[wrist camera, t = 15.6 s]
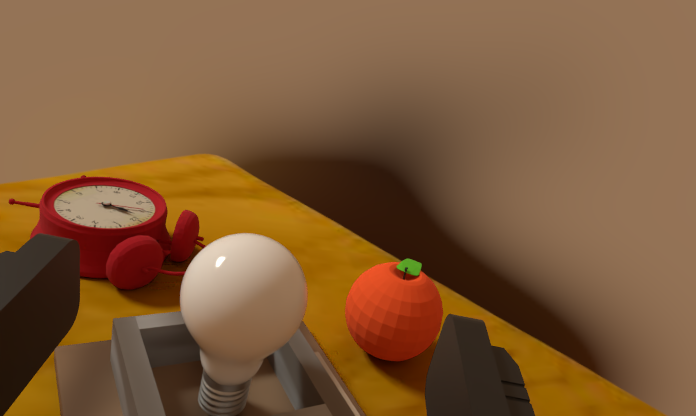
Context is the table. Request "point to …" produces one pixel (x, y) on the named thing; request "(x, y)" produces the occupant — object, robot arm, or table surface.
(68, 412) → the socket stand
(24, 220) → the table surface
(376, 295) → the clementine
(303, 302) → the lightbulb
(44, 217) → the alarm clock
